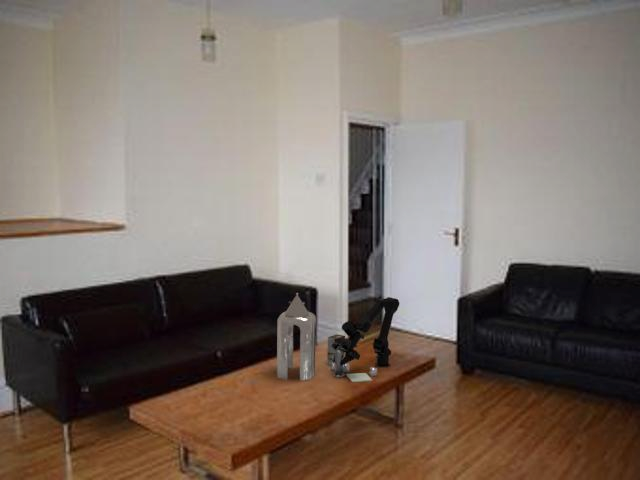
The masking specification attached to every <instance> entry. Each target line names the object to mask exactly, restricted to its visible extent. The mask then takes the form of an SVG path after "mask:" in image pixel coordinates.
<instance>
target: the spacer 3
mask: <svg viewBox="0 0 640 480" xmlns="http://www.w3.org/2000/svg"><path fill="white" fill-rule="evenodd" d="M377 375H378V367H376V366H371V367H369V377H377Z"/></svg>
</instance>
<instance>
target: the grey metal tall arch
mask: <svg viewBox="0 0 640 480" xmlns="http://www.w3.org/2000/svg"><path fill="white" fill-rule="evenodd" d="M305 303H306V302H304V301H302V300H301V298H300V296H299V293H298V292H296V293H295V297H294V298H293V300H292V301H291V302H290V303H289V304H290V305H289V307H287V310H286V311H284V312H282V313H281V314H280V315H279V316H278V318H277V323H276V324H277V325H276V326H277V331H276V337H277V339H276V341H277V343H276V351H277V352H276V376H277V378H278V379H281V380H285V381H286V380H288V377H289V376H288V373H289V372H288V369H293V368H294V326H297V327H298V328H299V330H300V332H299V333H300V334H299V335H300V336H299V343H300V344H299V348H300V349H299V381H308V380H309V381H310V380H312V379H314V374H315V372H316V343H317V342H316V338H317V337H316V332H317V331H316V330H317V329H316V328H317V324H316V323H317V317H316V315H315V314H314V313H313V312H310V311H309V310H307V308H306V306H305Z"/></svg>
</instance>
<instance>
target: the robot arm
mask: <svg viewBox="0 0 640 480" xmlns="http://www.w3.org/2000/svg"><path fill="white" fill-rule="evenodd" d="M399 307H400V301H399V299H397V298H394V297H390V296H387V297H386V298H379V299H377V300H376V301H375V304H373V306H372V307H371V308H370V310H369V311H368V312H367V313H366V314H365V315H364V316H363V317H361V318H360V319H358V320H357V321H356V322H355V323H354V322H353V320H351V319H350V320H348V321H346V322H344V323H343V324H342V325H341V329H342V331H343V332H344V333H345V334H346V336H348V337H345V340H344V339H341V338H338V339H337V342H336V343H333V344H332V347H333V349H334V350H336V349H342V350H343V352H345V357H344V359H343V360H342V362H341V364H340V365H341V366H342V365H344V364H346V363H348V364H349V362H351V361H354V360H357V361H359V360H360V358H361V355H360V353H359V352H358V351H357V350H356V349H355V348H357V347H358V344H359V342H360V340H365V336H364V335H365V333H368V332H369V330H370V329H371V327H372V323H373V321H374V320H375V319H376V318H377V317H378V315H379V314H380V313H381V311H382V310H383V309H384V315H383V319H382V323H381V327H380V330H379V334H378V336H377V338H376V337H375V338H374V339H373V343H372V348H373V351H374V353H375V354H376V356H375V364H376V365H377V366H378V367H388V366H391V365H390V364H389V363H390V361H389V359H390V356H392V350H391V349H390V348H389V340H388V337H389V333H390V329H391V326H392V322H393V317H394V314H395V313H396V312H397V311H398V309H399ZM337 343H339V344H340V345H341V346H342V347H341V346H340V345H339V344H337ZM333 363H335V355H334V359H333Z"/></svg>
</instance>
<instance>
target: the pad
mask: <svg viewBox="0 0 640 480" xmlns="http://www.w3.org/2000/svg"><path fill="white" fill-rule="evenodd" d="M346 376H347V378H348V379H349V380H350V382H351V383H359V382H360V383H361V382H373V379H372V378H371V376H370V375H368V374H367V373H366V372H361V373H360V372H359V373H357V372H356V373H346Z"/></svg>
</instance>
